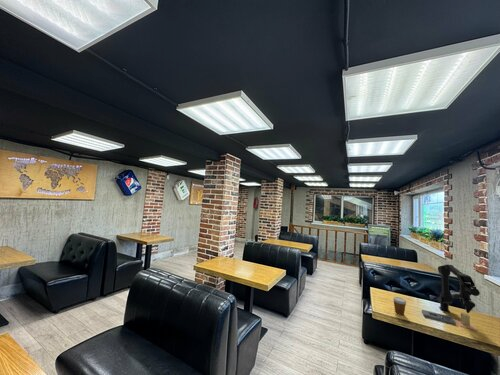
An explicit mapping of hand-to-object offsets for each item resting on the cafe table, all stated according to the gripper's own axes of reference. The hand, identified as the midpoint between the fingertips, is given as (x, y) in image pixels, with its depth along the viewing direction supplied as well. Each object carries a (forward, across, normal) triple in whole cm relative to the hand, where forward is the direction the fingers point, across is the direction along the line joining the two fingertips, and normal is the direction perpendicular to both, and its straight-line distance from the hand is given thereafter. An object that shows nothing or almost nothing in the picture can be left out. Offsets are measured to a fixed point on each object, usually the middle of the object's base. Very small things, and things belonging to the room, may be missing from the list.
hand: (465, 310), depth 167 cm
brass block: (+11, 0, 0) cm, 11 cm away
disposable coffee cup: (+12, +12, -45) cm, 48 cm away
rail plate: (+12, 0, -17) cm, 21 cm away
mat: (+12, 0, 0) cm, 12 cm away
